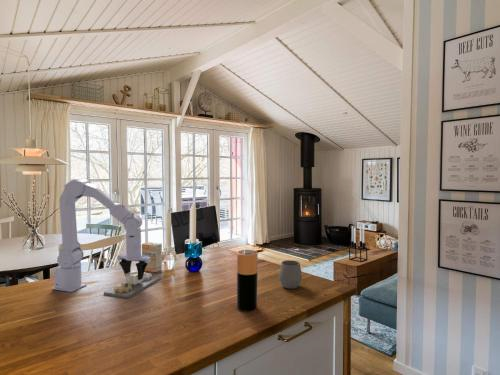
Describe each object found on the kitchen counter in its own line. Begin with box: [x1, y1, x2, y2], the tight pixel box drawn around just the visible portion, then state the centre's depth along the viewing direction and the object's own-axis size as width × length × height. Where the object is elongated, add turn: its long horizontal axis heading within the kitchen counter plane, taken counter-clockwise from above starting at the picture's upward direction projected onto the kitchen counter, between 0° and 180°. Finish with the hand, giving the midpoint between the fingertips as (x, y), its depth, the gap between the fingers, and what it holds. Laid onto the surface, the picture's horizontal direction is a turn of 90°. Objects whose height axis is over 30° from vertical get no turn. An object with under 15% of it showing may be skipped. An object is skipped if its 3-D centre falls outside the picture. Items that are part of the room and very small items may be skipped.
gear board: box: [103, 271, 162, 299], centre depth 133 cm, size 11×22×4 cm, turn 163°
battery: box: [236, 249, 259, 312], centre depth 113 cm, size 7×7×20 cm
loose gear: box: [125, 270, 143, 285], centre depth 133 cm, size 5×7×4 cm
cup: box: [278, 259, 303, 290], centre depth 134 cm, size 10×9×10 cm
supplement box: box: [141, 241, 163, 273], centre depth 153 cm, size 8×5×13 cm, turn 73°
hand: (134, 278), depth 133 cm, fingers closed on loose gear, 5 cm apart
